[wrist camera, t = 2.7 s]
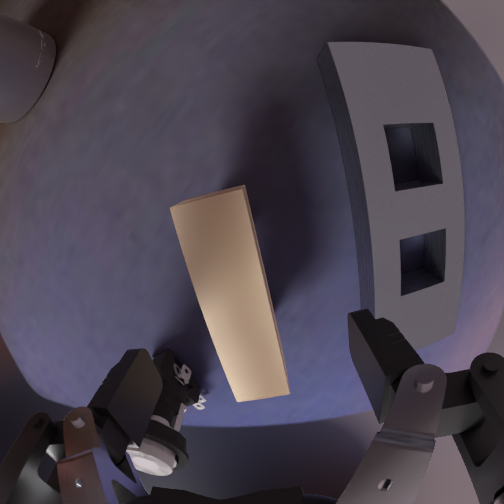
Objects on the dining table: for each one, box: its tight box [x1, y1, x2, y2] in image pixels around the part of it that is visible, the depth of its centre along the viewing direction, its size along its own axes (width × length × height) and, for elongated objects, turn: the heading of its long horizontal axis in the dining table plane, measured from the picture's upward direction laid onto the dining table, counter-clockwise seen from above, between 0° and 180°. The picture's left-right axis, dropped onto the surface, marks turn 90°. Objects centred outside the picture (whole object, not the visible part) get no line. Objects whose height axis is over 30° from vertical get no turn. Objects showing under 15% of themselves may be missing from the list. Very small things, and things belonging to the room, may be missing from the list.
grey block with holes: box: [317, 42, 465, 350], centre depth 16 cm, size 8×22×3 cm, turn 13°
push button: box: [126, 350, 206, 476], centre depth 17 cm, size 7×5×10 cm
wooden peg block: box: [170, 185, 290, 402], centre depth 15 cm, size 3×11×7 cm, turn 13°
